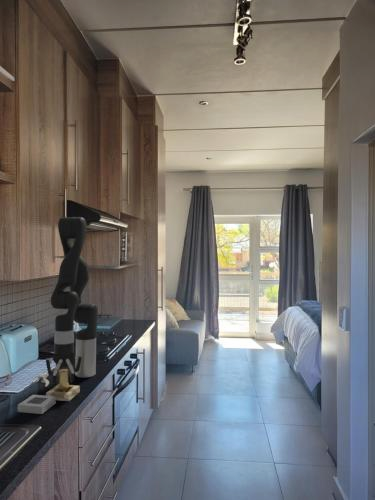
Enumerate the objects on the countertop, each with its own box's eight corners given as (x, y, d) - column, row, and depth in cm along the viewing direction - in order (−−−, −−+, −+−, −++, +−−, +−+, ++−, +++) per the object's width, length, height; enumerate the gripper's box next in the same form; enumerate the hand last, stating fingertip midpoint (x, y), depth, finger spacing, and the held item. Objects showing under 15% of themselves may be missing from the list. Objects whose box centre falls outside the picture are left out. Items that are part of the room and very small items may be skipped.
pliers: (22, 384, 153) (34, 372, 168) (22, 388, 153) (34, 376, 168) (46, 384, 154) (56, 372, 169) (46, 387, 154) (55, 375, 169)
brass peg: (61, 393, 147) (61, 368, 148) (70, 394, 147) (70, 369, 147) (56, 397, 144) (56, 371, 144) (65, 397, 143) (66, 372, 143)
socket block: (32, 401, 139) (32, 394, 139) (55, 403, 138) (55, 396, 138) (17, 411, 130) (17, 404, 130) (42, 414, 129) (42, 406, 129)
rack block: (58, 390, 151) (58, 384, 151) (79, 391, 149) (79, 385, 149) (45, 399, 141) (46, 392, 141) (68, 401, 140) (68, 394, 140)
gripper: (44, 344, 139) (44, 388, 139) (83, 341, 144) (82, 384, 144) (45, 340, 146) (44, 382, 146) (81, 337, 151) (81, 378, 151)
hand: (63, 383), depth 145 cm, fingers open, 5 cm apart
